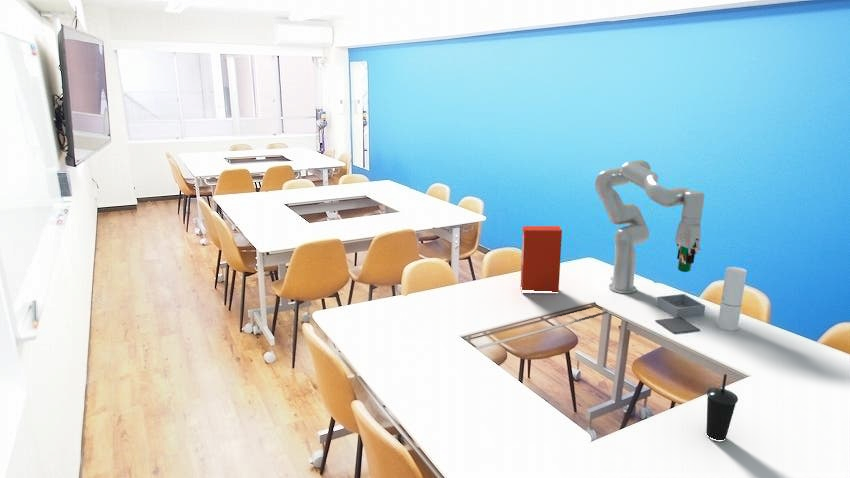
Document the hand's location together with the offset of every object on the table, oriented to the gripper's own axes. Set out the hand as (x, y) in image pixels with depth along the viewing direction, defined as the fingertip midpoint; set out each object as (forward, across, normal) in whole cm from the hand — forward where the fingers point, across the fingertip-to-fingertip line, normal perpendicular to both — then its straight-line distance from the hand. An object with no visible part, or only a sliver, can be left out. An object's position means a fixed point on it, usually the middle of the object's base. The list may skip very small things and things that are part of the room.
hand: (685, 260), depth 227 cm
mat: (+23, +14, -11) cm, 29 cm away
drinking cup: (+23, +79, -47) cm, 94 cm away
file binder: (+24, -36, -50) cm, 66 cm away
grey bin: (+23, +1, 0) cm, 23 cm away
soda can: (+5, 0, 0) cm, 5 cm away
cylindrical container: (+23, +20, +8) cm, 31 cm away
